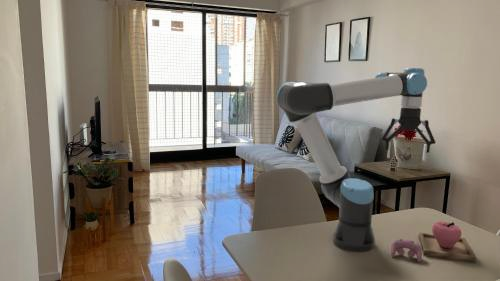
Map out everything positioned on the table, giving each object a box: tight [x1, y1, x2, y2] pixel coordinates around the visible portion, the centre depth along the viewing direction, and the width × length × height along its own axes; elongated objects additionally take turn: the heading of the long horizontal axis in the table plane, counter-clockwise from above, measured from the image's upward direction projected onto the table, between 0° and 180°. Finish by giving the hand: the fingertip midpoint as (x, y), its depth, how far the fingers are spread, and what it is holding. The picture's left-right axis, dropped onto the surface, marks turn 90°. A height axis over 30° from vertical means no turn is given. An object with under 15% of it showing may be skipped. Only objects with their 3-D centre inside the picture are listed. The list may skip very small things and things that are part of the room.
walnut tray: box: [418, 232, 477, 264], centre depth 138 cm, size 16×16×2 cm
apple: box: [431, 220, 462, 248], centre depth 137 cm, size 10×9×10 cm
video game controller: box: [390, 238, 423, 263], centre depth 132 cm, size 10×5×7 cm, turn 67°
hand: (405, 159), depth 156 cm, fingers open, 13 cm apart
